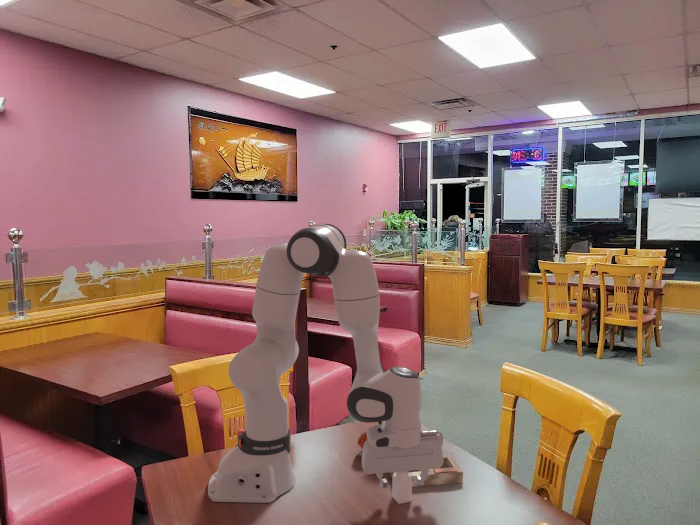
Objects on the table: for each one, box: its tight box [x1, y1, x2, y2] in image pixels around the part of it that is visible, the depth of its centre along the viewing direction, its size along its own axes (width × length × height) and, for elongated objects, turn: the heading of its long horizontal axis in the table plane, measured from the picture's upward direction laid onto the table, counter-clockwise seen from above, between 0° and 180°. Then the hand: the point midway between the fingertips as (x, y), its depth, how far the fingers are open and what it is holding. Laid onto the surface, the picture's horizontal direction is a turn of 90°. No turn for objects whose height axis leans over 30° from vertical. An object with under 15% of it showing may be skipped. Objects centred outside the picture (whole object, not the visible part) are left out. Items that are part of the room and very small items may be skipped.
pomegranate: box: [355, 431, 367, 458], centre depth 151 cm, size 7×7×10 cm
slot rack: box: [389, 453, 464, 488], centre depth 140 cm, size 18×10×3 cm, turn 99°
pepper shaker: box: [391, 471, 413, 505], centre depth 129 cm, size 4×4×10 cm
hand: (402, 485), depth 129 cm, fingers open, 8 cm apart
